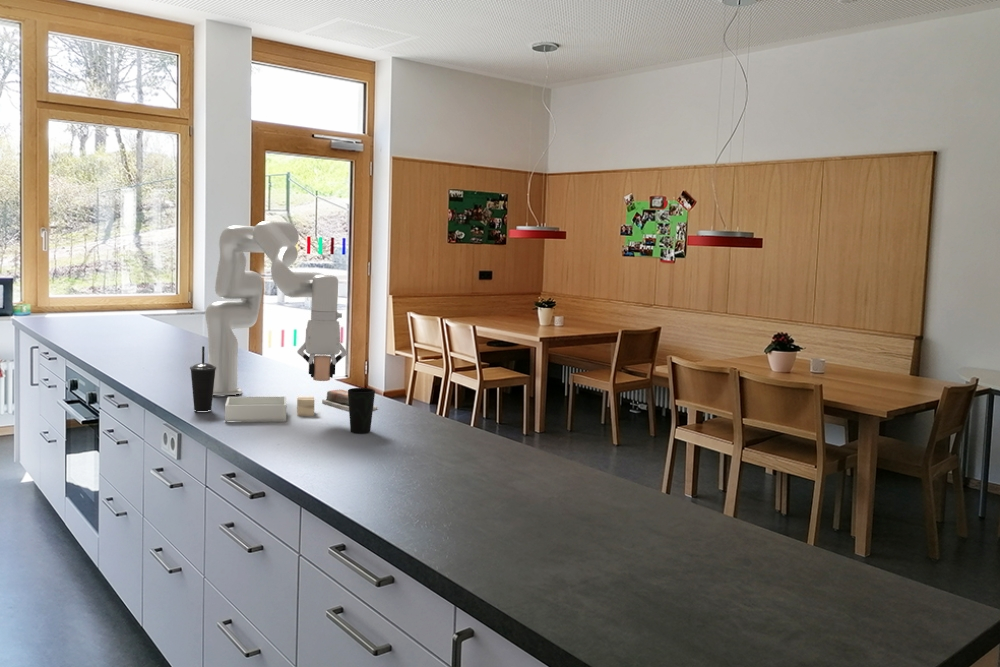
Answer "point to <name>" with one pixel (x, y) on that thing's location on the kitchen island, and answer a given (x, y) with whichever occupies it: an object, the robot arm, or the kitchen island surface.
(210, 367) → the drinking cup
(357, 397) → the cup
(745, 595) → the kitchen island surface
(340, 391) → the packaged product
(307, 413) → the cube
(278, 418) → the tote
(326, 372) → the cylinder
